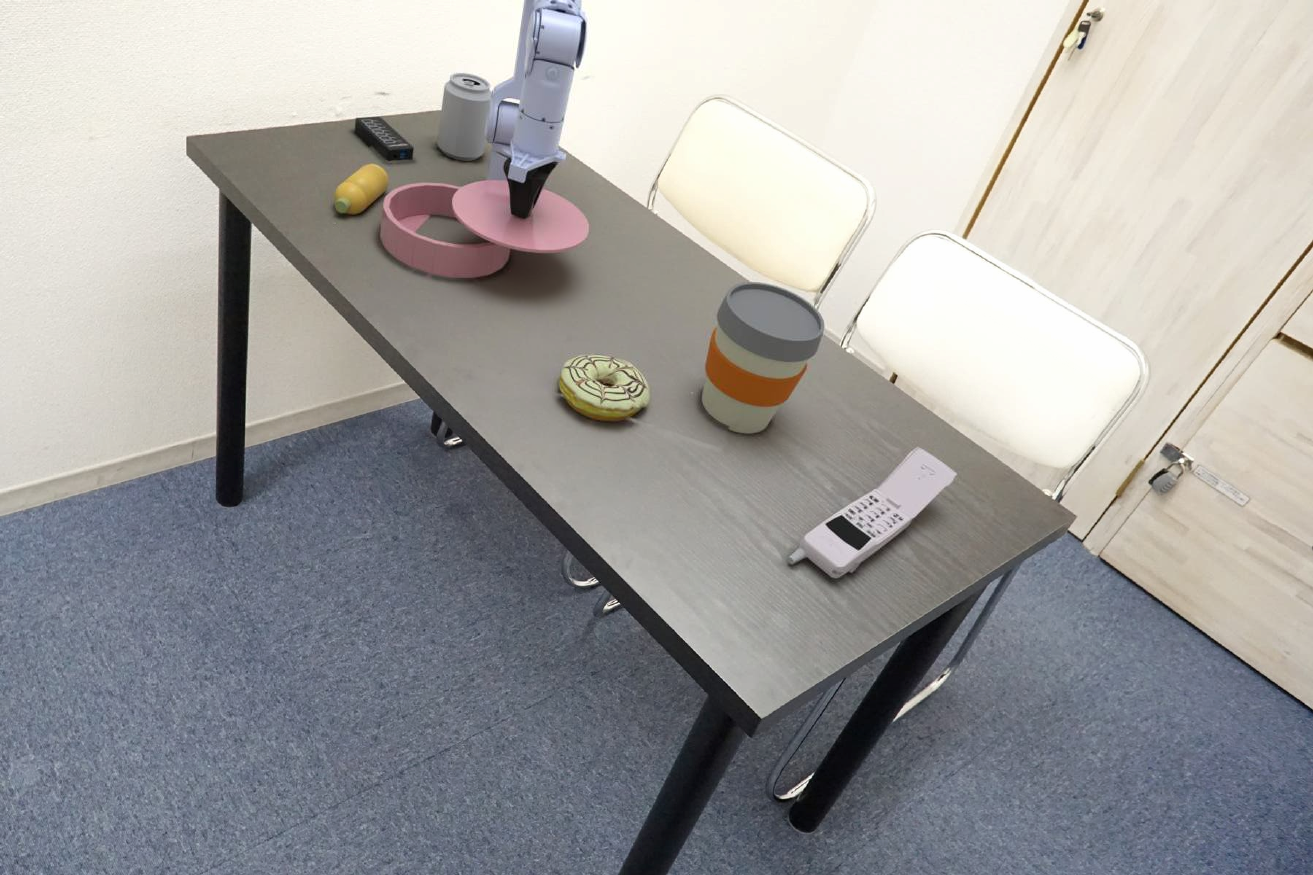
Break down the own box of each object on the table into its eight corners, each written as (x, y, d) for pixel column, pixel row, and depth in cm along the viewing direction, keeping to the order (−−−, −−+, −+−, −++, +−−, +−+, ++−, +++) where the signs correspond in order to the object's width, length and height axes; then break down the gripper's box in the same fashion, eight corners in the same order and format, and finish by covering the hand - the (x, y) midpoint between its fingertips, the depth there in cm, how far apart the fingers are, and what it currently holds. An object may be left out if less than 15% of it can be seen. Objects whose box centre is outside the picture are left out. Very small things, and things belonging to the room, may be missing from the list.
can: (488, 150, 158) (499, 80, 151) (476, 167, 152) (488, 94, 145) (443, 137, 157) (453, 65, 150) (430, 153, 151) (439, 79, 144)
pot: (410, 203, 138) (414, 170, 135) (523, 241, 138) (529, 209, 135) (358, 253, 124) (361, 218, 121) (483, 295, 124) (490, 261, 121)
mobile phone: (960, 473, 111) (846, 556, 94) (938, 509, 115) (824, 595, 98) (918, 443, 114) (799, 519, 97) (898, 480, 117) (780, 559, 100)
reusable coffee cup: (717, 448, 112) (758, 345, 103) (670, 382, 120) (705, 281, 111) (801, 437, 119) (847, 339, 109) (751, 376, 126) (790, 279, 117)
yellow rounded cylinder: (360, 179, 138) (369, 153, 135) (388, 195, 139) (397, 169, 136) (321, 211, 128) (329, 185, 126) (351, 228, 129) (360, 202, 126)
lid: (477, 174, 134) (483, 141, 131) (601, 215, 134) (609, 184, 131) (429, 226, 119) (434, 190, 116) (568, 273, 119) (576, 238, 116)
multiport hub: (379, 130, 153) (380, 116, 152) (413, 162, 148) (415, 148, 146) (353, 131, 150) (354, 117, 149) (387, 164, 145) (388, 149, 144)
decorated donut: (661, 414, 114) (670, 390, 112) (592, 437, 108) (600, 412, 105) (608, 365, 119) (616, 340, 117) (539, 383, 113) (546, 358, 110)
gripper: (556, 142, 112) (535, 243, 120) (586, 105, 123) (565, 200, 131) (499, 123, 112) (482, 225, 120) (534, 87, 123) (516, 183, 131)
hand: (522, 211), depth 126 cm, fingers closed on lid, 2 cm apart
